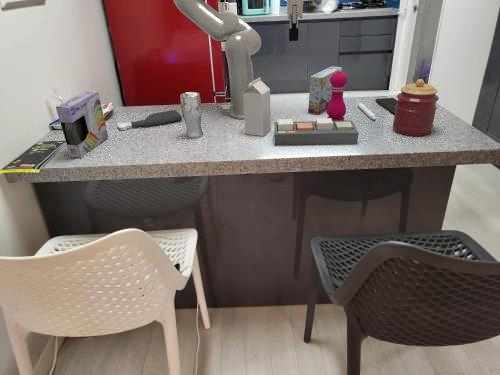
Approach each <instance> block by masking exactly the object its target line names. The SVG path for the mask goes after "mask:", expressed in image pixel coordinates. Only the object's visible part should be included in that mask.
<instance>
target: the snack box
mask: <svg viewBox="0 0 500 375" xmlns="http://www.w3.org/2000/svg"><path fill="white" fill-rule="evenodd" d="M338 68H341V69H342V70H343V67H341V66H330V67H327V68H325V69H324V70H320V71H319V72H317V73H315V74H314V73H313V74H312V75H310V77H309V91H308V93H309V95H308V110H307V111H308V112H307V113H308V114H311V115H312V114H313V115H316V116H317V115H318V116H319V115H321V114H323V113H324V112H326V111H327V107H328V104H329V103H330V101H331V98H332V91H331V86H332V84H331V83H330V77H331V75H332V74H334V73H336V72H337V69H338ZM341 72H342V73H343V71H341Z"/></svg>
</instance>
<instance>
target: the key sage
mask: <svg viewBox="0 0 500 375" xmlns="http://www.w3.org/2000/svg"><path fill="white" fill-rule="evenodd" d="M335 128H336V130H350V129H353V126H352V124H351V122H335Z"/></svg>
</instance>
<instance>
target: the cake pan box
mask: <svg viewBox="0 0 500 375" xmlns="http://www.w3.org/2000/svg"><path fill="white" fill-rule="evenodd" d="M99 94H100V93H99V91H98V90H86V91H84V92H82V93H80V94H79V95H75V96H73V97H71V98H69V99H68V100H66V101H64V102H63V103H60V104H58V105H56V106H55V109H56V114H57V117H58V119H59V120H58V121H59V123H60V126H61V130H62V133H63V137H64V141H65V144H66V147H67V150H68V154H69V157H70V158H71V157H77V158H76V159H83V158H84V157H85V156H87V155H88V154H89V153H90V152H92V151H93V150H94V149H95V148H97V147H98V146H99V145H101V142H102V143H103V142H104V141H106V139H108V138H109V134H108V129H107V124H106V120H105V116H104V111H103V107H102V103H101V99H100V95H99ZM96 146H97V147H96ZM92 149H93V150H92ZM91 150H92V151H91ZM88 152H89V153H88ZM87 153H88V154H87ZM86 154H87V155H86ZM84 155H85V156H84ZM83 156H84V157H83ZM82 157H83V158H82Z"/></svg>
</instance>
